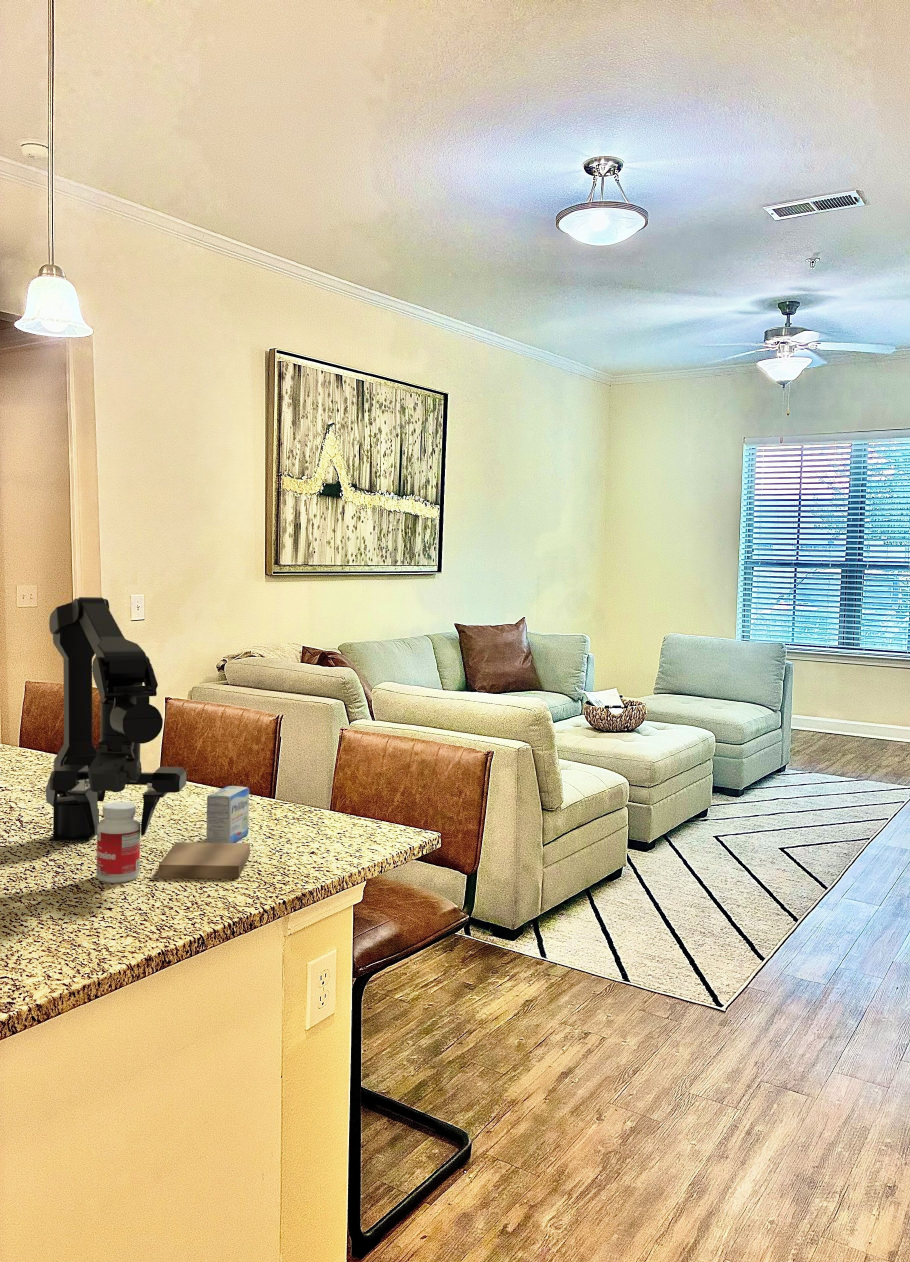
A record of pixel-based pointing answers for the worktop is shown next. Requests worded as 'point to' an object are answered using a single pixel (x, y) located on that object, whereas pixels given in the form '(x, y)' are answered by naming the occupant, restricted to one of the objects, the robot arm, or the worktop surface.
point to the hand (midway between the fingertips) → (118, 834)
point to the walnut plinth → (205, 860)
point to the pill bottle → (118, 843)
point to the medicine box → (228, 815)
